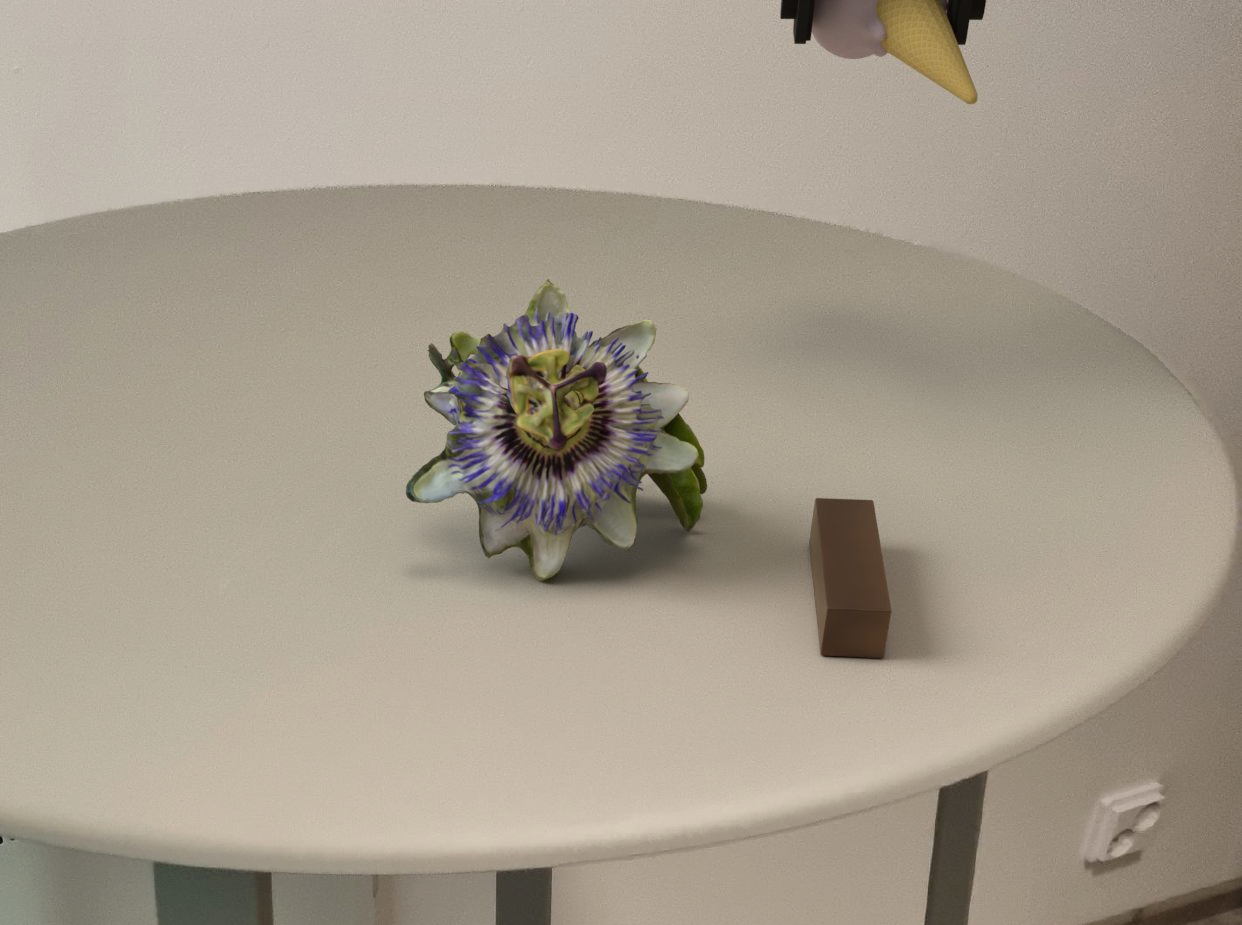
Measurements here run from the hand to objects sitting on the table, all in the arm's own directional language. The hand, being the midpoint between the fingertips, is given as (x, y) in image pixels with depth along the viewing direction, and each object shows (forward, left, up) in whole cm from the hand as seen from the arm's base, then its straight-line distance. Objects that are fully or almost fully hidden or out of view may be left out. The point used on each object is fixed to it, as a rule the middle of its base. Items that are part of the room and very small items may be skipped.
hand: (878, 33), depth 87 cm
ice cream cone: (-1, 0, -2) cm, 2 cm away
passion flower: (+13, +22, -15) cm, 30 cm away
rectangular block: (+1, +27, -14) cm, 31 cm away
